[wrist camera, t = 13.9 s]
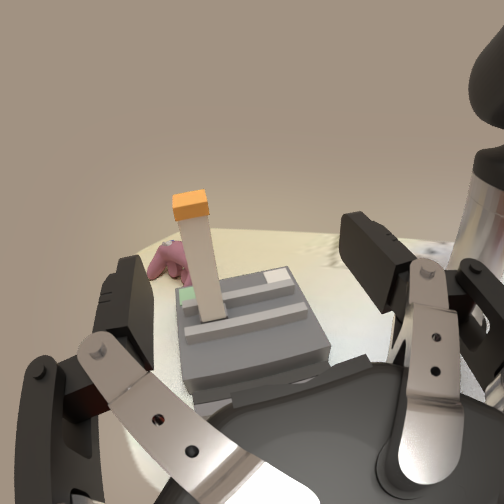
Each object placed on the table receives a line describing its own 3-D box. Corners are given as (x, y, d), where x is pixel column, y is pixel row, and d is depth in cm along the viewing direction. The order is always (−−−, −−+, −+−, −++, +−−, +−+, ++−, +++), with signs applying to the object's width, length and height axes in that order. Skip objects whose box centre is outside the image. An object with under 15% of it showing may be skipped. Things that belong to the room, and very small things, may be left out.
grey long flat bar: (325, 367, 29) (327, 360, 29) (335, 388, 27) (338, 381, 26) (195, 398, 27) (192, 392, 26) (199, 422, 25) (195, 417, 24)
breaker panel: (287, 283, 41) (287, 256, 39) (327, 361, 30) (333, 336, 27) (180, 305, 39) (172, 279, 36) (189, 394, 28) (178, 371, 25)
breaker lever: (225, 308, 34) (205, 188, 25) (230, 326, 31) (208, 201, 23) (200, 313, 33) (171, 195, 25) (202, 331, 31) (171, 208, 23)
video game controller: (208, 299, 42) (217, 253, 40) (184, 305, 38) (192, 255, 37) (166, 275, 47) (172, 233, 46) (143, 278, 44) (149, 234, 42)
